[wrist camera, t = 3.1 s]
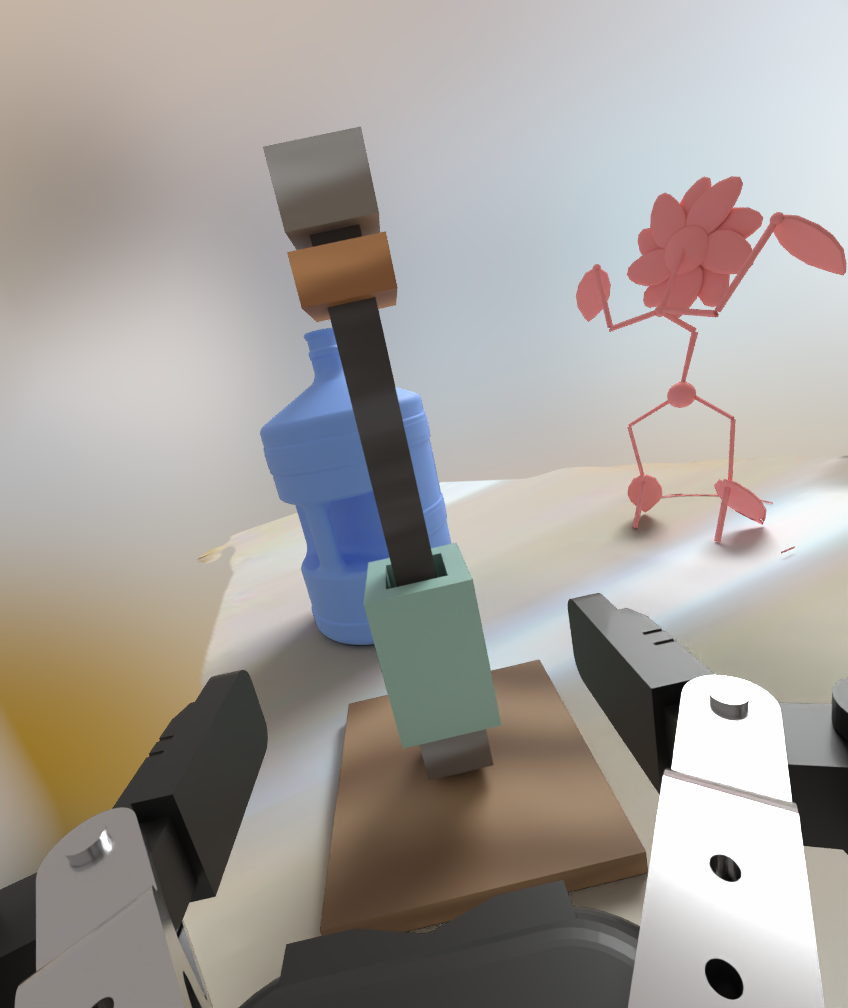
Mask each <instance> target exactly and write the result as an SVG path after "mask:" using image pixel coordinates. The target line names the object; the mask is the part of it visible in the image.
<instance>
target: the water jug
mask: <svg viewBox="0 0 848 1008" xmlns="http://www.w3.org/2000/svg"><path fill="white" fill-rule="evenodd" d="M304 338H305V339H306V341H307V342H308V346H309V350H310V352H309V357H310V360H311V361H312V364H313V368H314V372H315V378H314V382H313V384H312V385H311V386H310V387H309V388H308V389H306V390H305V391H304V392H303V393H302V394H301V395H299V396H298V397H297V398H296V399H295V400H294V401H292V402H291V403H290V404H289V405H288V406H287V407H285V408H284V409H283V410H282V411H281V412H280V413H278V414H277V415H276V416H275V417H274V418H272V419H271V420H270V421H269V422H268V423H267V424H265V425H264V426H263V427H262V429H261V431H260V435H261V438H262V442H263V445H264V453H265V457H266V461H267V464H268V467H269V469H270V473H271V474H272V475H273V478H274V481H275V485H276V488H277V491H278V495H279V498H280V499H281V500H282V501H284V502H286V503H289V504H293V505H296V508H297V512H298V515H299V519H300V522H301V525H302V529H303V532H304V535H305V539H306V542H307V554H306V557H305V559H304V561H303V563H302V566H301V570H302V574H303V577H304V580H305V583H306V587H307V590H308V593H309V597H310V600H311V603H312V612H313V615H314V618H315V622H316V625H317V627H318V628H319V630H320V631H321V632H322V633H323V634H324V635H325V636H327V637H328V638H330V639H332V640H334V641H337V642H340V643H345V644H352V645H371V644H374V641H373V638H372V634H371V630H370V626H369V623H368V619H367V615H366V612H365V608H364V595H365V587H366V579H367V570H368V563H369V562H374V561H378V560H382V559H387V558H390V557H389V553H388V549H387V545H386V541H385V537H384V533H383V529H382V525H381V521H380V517H379V513H378V509H377V505H376V501H375V497H374V493H373V489H372V485H371V481H370V477H369V473H368V469H367V465H366V461H365V456H364V452H363V448H362V444H361V440H360V436H359V432H358V428H357V424H356V420H355V416H354V412H353V408H352V404H351V400H350V396H349V392H348V388H347V384H346V380H345V376H344V372H343V368H342V364H341V360H340V356H339V352H338V347H337V343H336V339H335V335H334V331H333V328H326V329H320V330H316V331H312V332H309V333H306V334H305V335H304ZM395 388H396V392H397V397H398V401H399V406H400V410H401V415H402V420H403V424H404V429H405V433H406V438H407V442H408V447H409V451H410V456H411V460H412V465H413V469H414V474H415V478H416V483H417V487H418V492H419V496H420V501H421V506H422V510H423V515H424V519H425V524H426V528H427V533H428V537H429V542H430V546H431V548H435V547H440V546H444V545H449V544H451V539H450V534H449V529H448V524H447V514H446V507H445V503H444V498H443V495H442V493H441V491H440V486H439V481H438V476H437V472H436V467H435V462H434V457H433V452H432V447H431V443H430V432H429V431H430V430H429V425H428V421H427V417H426V413H425V411H424V409H423V404H422V400H421V397H420V396H419V395H418V394H417V393H414V392H411V391H407V390H404V389H400V388H397V387H395Z"/></svg>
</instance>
